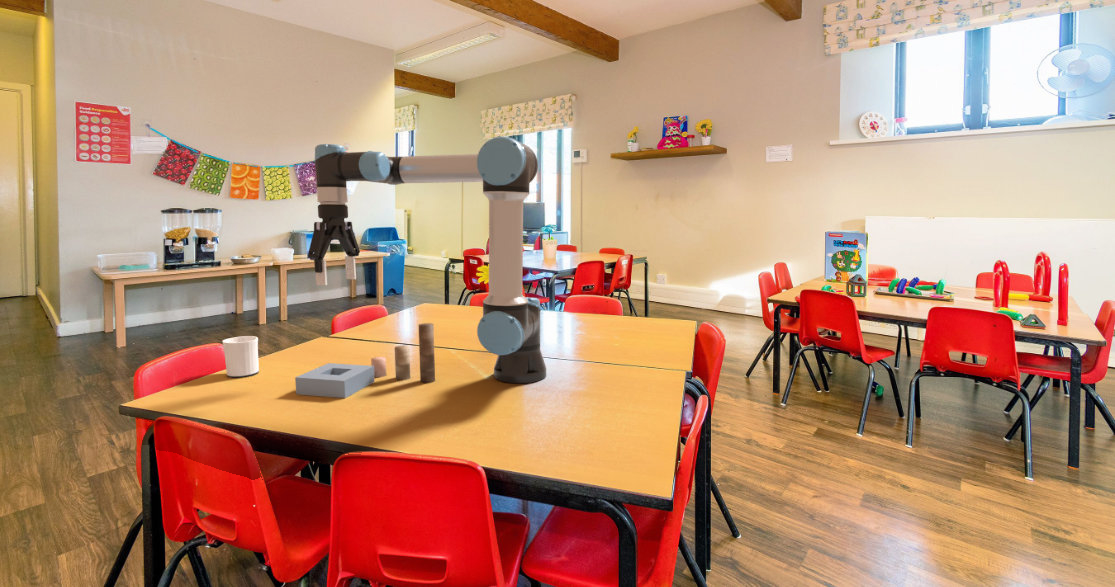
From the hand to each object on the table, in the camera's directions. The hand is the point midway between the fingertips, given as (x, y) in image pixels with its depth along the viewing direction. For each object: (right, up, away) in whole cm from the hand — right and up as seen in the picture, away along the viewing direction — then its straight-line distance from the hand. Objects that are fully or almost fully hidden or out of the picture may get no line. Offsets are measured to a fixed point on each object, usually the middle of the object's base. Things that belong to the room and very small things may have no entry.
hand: (337, 282), depth 150 cm
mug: (-31, -27, +9) cm, 42 cm away
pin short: (+9, -27, +7) cm, 29 cm away
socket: (+2, -28, -4) cm, 29 cm away
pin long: (+25, -28, +2) cm, 37 cm away
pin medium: (+17, -27, +5) cm, 32 cm away
